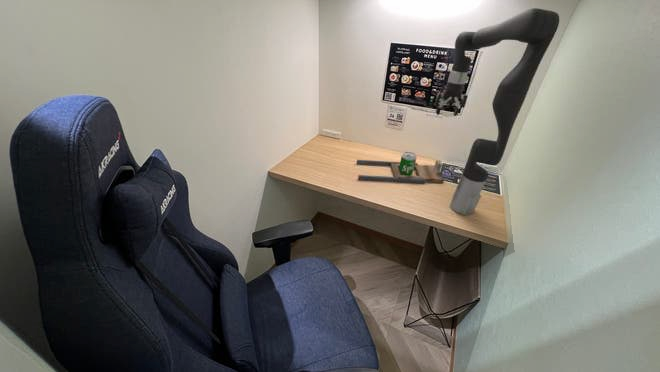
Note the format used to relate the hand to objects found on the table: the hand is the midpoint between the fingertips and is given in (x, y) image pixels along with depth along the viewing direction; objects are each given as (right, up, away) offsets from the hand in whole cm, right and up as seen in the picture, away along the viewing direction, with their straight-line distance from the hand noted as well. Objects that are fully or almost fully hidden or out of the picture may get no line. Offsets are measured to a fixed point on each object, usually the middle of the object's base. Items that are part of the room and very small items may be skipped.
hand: (446, 115), depth 130 cm
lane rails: (-27, -29, +10) cm, 40 cm away
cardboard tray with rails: (-13, -30, +10) cm, 34 cm away
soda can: (-18, -29, +10) cm, 36 cm away
